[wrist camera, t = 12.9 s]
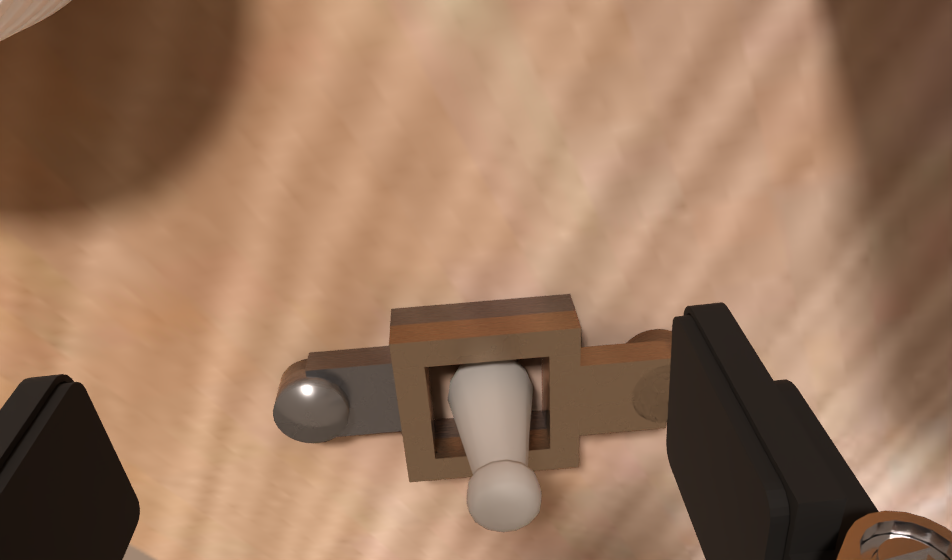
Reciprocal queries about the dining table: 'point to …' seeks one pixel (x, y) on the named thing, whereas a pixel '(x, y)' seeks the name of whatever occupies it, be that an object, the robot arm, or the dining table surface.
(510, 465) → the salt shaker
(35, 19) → the plate stack
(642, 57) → the dining table surface
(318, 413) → the lower end link
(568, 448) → the upper end link
